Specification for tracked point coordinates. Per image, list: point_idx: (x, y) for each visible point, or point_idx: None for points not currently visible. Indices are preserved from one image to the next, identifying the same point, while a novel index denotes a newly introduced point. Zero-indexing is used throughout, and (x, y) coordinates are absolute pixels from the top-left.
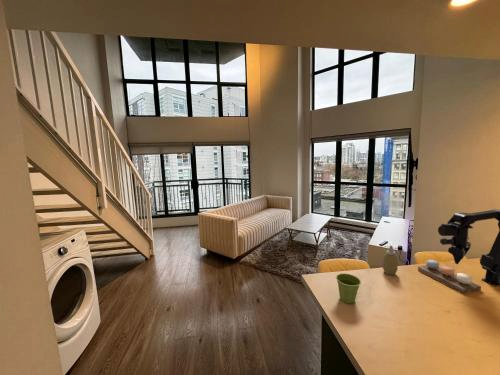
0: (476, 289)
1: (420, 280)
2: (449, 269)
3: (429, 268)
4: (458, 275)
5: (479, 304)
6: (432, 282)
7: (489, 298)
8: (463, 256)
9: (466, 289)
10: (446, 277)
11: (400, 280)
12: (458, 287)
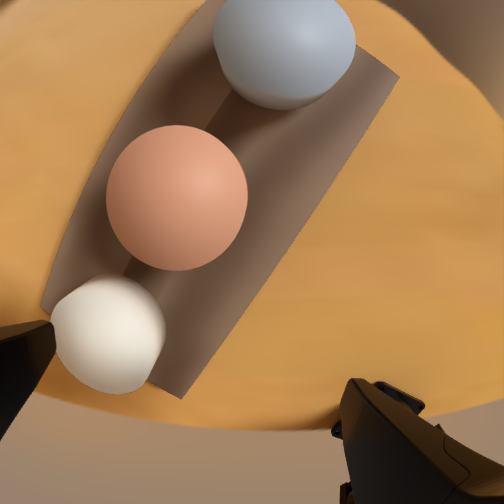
0: None
1: (54, 61)
2: (154, 219)
3: None
4: (63, 303)
5: None
6: (71, 121)
7: (121, 399)
8: (350, 461)
9: None
10: None
11: (5, 10)
12: (50, 279)
